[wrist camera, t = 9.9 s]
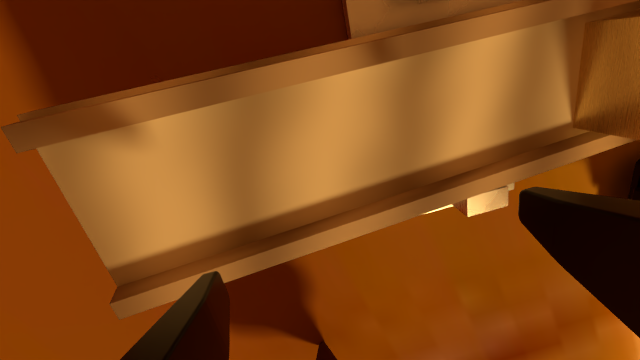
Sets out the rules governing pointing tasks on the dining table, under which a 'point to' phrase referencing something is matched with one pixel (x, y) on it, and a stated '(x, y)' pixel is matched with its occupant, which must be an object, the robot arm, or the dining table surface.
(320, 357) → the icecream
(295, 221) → the beam
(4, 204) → the dining table surface
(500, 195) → the stand
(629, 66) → the tan block
